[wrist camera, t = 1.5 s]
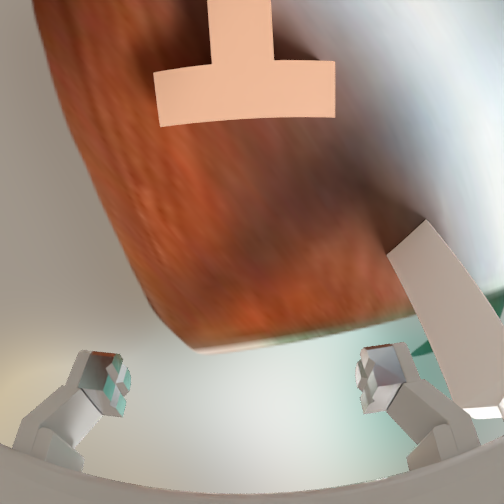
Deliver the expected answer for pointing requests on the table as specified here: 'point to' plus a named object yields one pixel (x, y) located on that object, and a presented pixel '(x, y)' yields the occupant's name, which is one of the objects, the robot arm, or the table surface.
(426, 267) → the milk
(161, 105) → the T block
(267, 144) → the table surface
